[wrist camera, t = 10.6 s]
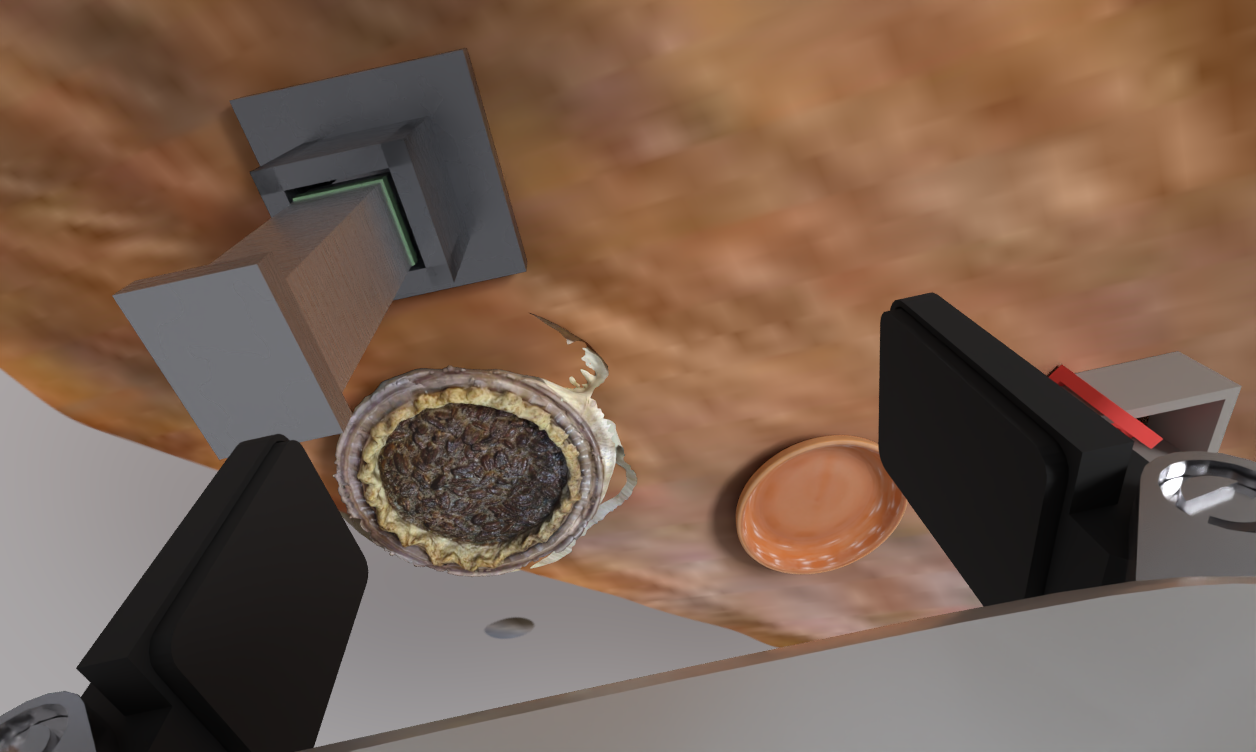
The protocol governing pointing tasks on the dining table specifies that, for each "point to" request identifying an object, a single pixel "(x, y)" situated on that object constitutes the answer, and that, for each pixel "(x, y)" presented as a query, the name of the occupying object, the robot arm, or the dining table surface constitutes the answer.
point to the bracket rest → (1168, 401)
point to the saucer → (818, 506)
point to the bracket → (1106, 407)
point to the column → (279, 314)
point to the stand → (397, 159)
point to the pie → (479, 466)
